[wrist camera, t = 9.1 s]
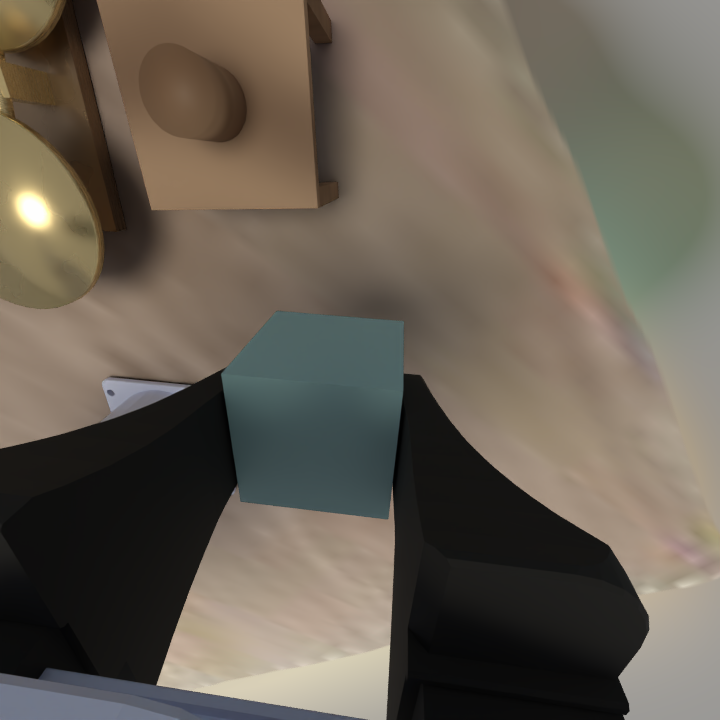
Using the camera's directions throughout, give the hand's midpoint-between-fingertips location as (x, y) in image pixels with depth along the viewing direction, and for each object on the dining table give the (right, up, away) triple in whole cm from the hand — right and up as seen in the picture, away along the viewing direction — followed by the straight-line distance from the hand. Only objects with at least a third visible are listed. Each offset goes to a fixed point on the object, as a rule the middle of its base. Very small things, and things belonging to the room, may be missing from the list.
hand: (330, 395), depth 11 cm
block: (0, +1, +1) cm, 2 cm away
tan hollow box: (-3, +12, +6) cm, 14 cm away
